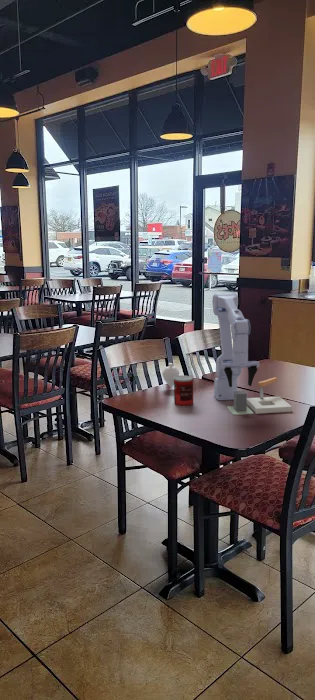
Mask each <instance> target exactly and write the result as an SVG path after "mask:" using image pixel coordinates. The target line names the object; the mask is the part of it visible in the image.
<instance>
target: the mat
mask: <svg viewBox="0 0 315 700" xmlns="http://www.w3.org/2000/svg"><path fill="white" fill-rule="evenodd" d="M226 408H227V409H228V410H229V412H230V413H231V414H232V416H240V415H243V416H244V415H253V414H255V412H254V411H253V410H252V409H251V408H250V407H249V406H247V411H240V412H236V411H235V410H234V405H231V406H230V405H229V406H226Z"/></svg>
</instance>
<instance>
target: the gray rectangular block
mask: <svg viewBox="0 0 315 700" xmlns="http://www.w3.org/2000/svg"><path fill="white" fill-rule="evenodd" d="M247 398H248V395H247V392H246V391H244V390H237V391H234V400H233V406H234V410H235V411H236V412H240V411H247V407H248V405H247Z"/></svg>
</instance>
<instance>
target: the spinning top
mask: <svg viewBox="0 0 315 700" xmlns="http://www.w3.org/2000/svg"><path fill="white" fill-rule="evenodd" d="M176 376H180V370H179V369H178V367H177V366H174V364H173V363H172V362H168V366H166V367H164V369H163V370H162V377H163V380H164V381H165V383H166V384H167V385H168V386H169V387H170V390H172V387H174V377H176Z"/></svg>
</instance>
